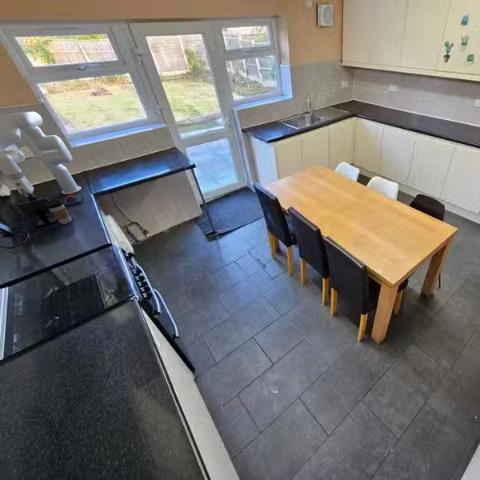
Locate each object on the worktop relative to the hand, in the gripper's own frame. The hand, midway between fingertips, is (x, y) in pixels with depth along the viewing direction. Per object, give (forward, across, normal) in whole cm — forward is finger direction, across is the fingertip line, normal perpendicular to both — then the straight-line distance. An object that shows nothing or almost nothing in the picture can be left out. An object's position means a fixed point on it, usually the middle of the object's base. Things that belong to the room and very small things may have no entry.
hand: (35, 202), depth 173 cm
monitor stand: (+14, -2, 0) cm, 14 cm away
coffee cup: (+14, -9, -10) cm, 19 cm away
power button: (+10, +21, -13) cm, 27 cm away
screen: (+8, -1, 0) cm, 8 cm away
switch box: (+14, +21, -13) cm, 28 cm away
